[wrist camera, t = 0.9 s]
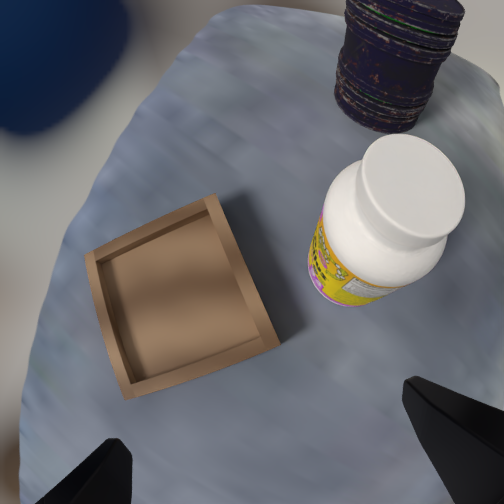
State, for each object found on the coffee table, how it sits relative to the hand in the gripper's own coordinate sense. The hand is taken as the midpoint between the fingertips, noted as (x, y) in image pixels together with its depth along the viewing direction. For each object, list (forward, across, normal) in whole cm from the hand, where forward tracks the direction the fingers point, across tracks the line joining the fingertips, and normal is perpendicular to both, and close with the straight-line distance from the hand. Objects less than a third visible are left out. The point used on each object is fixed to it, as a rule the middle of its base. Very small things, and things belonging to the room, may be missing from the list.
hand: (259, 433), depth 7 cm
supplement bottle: (+15, -8, +2) cm, 17 cm away
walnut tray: (+15, +6, +1) cm, 16 cm away
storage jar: (+24, -18, -12) cm, 32 cm away
